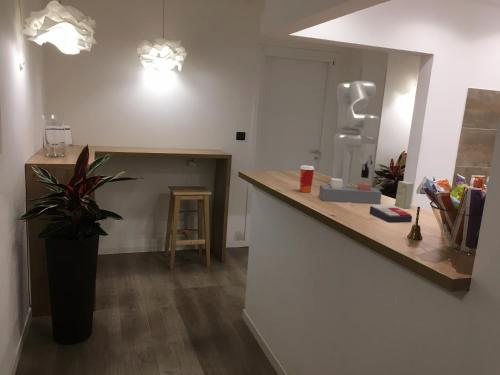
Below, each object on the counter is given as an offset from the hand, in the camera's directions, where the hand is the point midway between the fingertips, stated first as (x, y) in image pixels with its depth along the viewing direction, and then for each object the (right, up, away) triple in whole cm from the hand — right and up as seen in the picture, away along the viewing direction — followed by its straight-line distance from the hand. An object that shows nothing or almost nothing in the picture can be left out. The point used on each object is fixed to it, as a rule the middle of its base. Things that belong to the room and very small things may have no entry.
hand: (364, 177), depth 208 cm
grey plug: (-14, -8, +1) cm, 16 cm away
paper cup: (-28, -8, +16) cm, 33 cm away
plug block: (-8, -11, +1) cm, 14 cm away
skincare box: (+16, -15, -7) cm, 23 cm away
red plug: (-1, -10, +1) cm, 10 cm away
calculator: (+2, -18, -30) cm, 35 cm away
